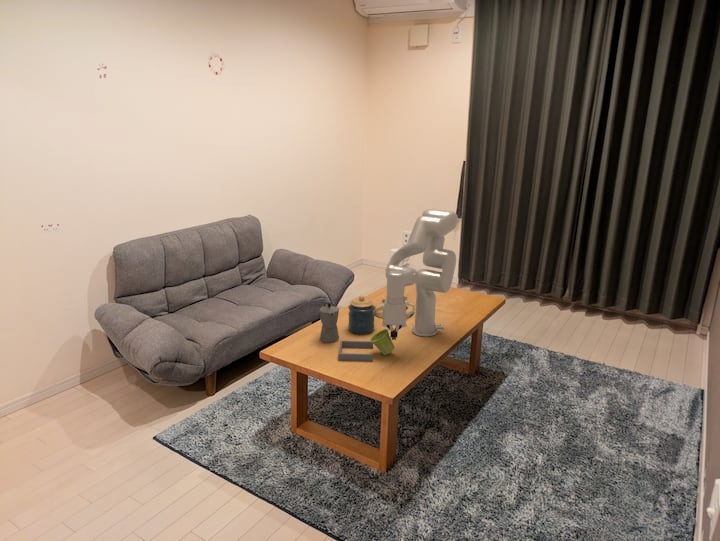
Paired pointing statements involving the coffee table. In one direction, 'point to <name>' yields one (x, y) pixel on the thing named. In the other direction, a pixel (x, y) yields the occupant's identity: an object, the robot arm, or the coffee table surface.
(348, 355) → the bay
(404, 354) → the coffee table surface
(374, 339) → the plant pot
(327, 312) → the coffeepot
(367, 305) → the canister
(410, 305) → the ashtray
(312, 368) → the coffee table surface
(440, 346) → the coffee table surface
